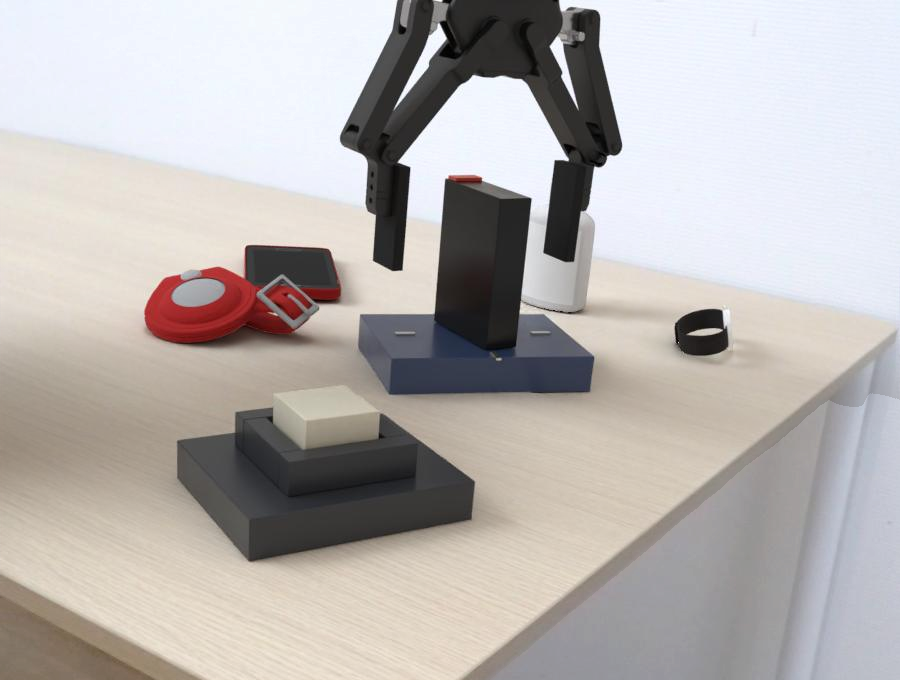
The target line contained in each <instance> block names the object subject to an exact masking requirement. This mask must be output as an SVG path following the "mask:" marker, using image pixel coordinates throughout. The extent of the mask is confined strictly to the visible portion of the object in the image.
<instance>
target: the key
mask: <svg viewBox="0 0 900 680" xmlns="http://www.w3.org/2000/svg"><path fill="white" fill-rule="evenodd" d="M272 404H273V405H272V407H273V424H274V425H275V426H276V427H277V428H278V429H279V430H280V431H281V432H283V433H284V434H285V435H286V436H287V437H288V438H289V439H290V440H292V441H293V442H294V443H295V444H296V445H297V446H298V447H299V448H301V449H302V450H304V449H311V448H318V447H325V446H332V445H339V444H346V443H353V442H360V441H367V440H374V439H378V436H379V420H380V414H381V411H380V409H378V408H377V407H375V405H373V404H372V403H370V402H368V401H367V400H366V399H364V398H363V397H362V396H361V395H359V394H358V393H356V392H355V391H354V390H353V389H351V388H350V387H348V386H347V385H345V384H342V385H334V386H326V387H317V388H316V387H315V388H308V389H307V388H306V389H298V390H290V391H289V390H288V391H281V392H273V401H272Z"/></svg>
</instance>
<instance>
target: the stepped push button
mask: <svg viewBox="0 0 900 680" xmlns="http://www.w3.org/2000/svg"><path fill="white" fill-rule="evenodd" d="M176 473H177V474H176V479H177V480H178V481H179V482H180V483H181V484H182V485H183V486H184V488H185V489H186V490H187V492H189V494H190V495H191V496H192V497H193V498H194V499H195V500H196V502H197V503H198V504H199V505H200V506H201V508H202V509H203V510H204V511H205V512H206V513H207V515H208V516H209V517H210V518H211V519H212V521H213V522H214V523H215V524H216V525H217V526H218V527H219V529H220V530H221V531H222V532H223V533H224V535H225V536H226V537H227V538H228V539H229V540H230V541H231V542H232V543H233V545H234V546H235V547H236V548H237V550H238V551H239V552H240V553H241V554H242V556H243V557H244V558H245V559H246V560H247V561H248V562H249V563H250V562H256V561H260V560H267V559H271V558H272V559H273V558H276V557H281V556H287V555H291V554H297V553H303V552H308V551H313V550H318V549H323V548H329V547H333V546H335V547H336V546H339V545H340V546H341V545H344V544H345V545H346V544H350V543H356V542H361V541H366V540H370V539H377V538H382V537H387V536H393V535H397V534H403V533H408V532H413V531H419V530H425V529H429V528H434V527H439V526H444V525H449V524H456V523H461V522H467V521H471V520H472V519H473V508H474V499H475V498H474V496H475V487H476V481H475V480H474V479H473V478H472V477H470V476H469V475H467V474H466V473H464V471H462V470H460V469H459V468H457V466H455V465H454V464H452V463H451V462H449V460H447V459H446V458H444V457H443V456H442V455H440V454H439V453H438V452H436V451H434V450H433V449H432V448H430V446H428V445H426V444H425V443H424V442H422V441H421V440H420V439H418V438H417V437H415V436H414V435H413V434H411V433H410V432H409V431H407V430H406V429H404V428H403V427H402V426H401V425H399V424H398V423H396V422H395V421H394V420H392V419H391V418H390V417H388V416H387V415H385V413H383V412H382V413H381V412H380V420H379V436H378V439H374V440H367V441H360V442H353V443H346V444H339V445H332V446H325V447H318V448H311V449H304V450H302V449H301V448H299V447H298V446H297V445H296V444H295V443H294V442H293V441H292V440H290V439H289V438H288V437H287V436H286V435H285V434H284V433H283V432H281V431H280V430H279V429H278V428H277V427H276V426H275V425H274V424H273V406H272V407H263V408H257V409H256V408H255V409H247V410H240V411H235V412H234V432H230V433H229V432H228V433H221V434H214V435H205V436H197V437H191V438H183V439H178V440H176Z"/></svg>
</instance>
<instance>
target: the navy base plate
mask: <svg viewBox="0 0 900 680" xmlns="http://www.w3.org/2000/svg"><path fill="white" fill-rule="evenodd" d="M434 314H435V313H360V314H359V320H358V321H359V323H358V342H357V348H358V349H359V351H360V352H361V354H362V355H363V357H364V358H365V360H366V361H367V363H368V364H369V366H370V367H371V369H372V370H373V372H374V374H375V376H376V377H377V378H378V381H380V383H381V384H382V386H383V387H384V390H385V391H386V392H387V394H388V395H390V396H391V395H392V396H393V395H394V396H396V395H441V394H444V395H446V394H494V393H502V394H503V393H570V392H571V393H572V392H590V391H591V387H592V381H593V380H592V379H593V372H594V366H595V365H594V364H595V355H594V354H592V353H591V352H590V351H589V350H587V349H586V348H585V347H584V346H583V345H581V344H580V343H579V342H578V341H576V340H575V339H574V338H573V337H572V336H570V335H569V334H568V333H567V332H566V330H564V329H562V328H561V327H560V326H559V325H557V323H555V322H554V321H552V320H551V318H550V317H548V316H547V315H545V314H544V313H520V314H519V324H518V333H517V342H516V347H512V348H503V349H493V350H485V349H483V348H482V347H480V346H478V345H476V344H475V343H473V342H471V341H469V340H467V339H466V338H464V337H462V336H460V335H459V334H457V333H455V332H453V331H451V330H450V329H448V328H446V327H444V326H443V325H441V324H439V323H437V322H435V321H434Z"/></svg>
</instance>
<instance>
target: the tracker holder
mask: <svg viewBox="0 0 900 680" xmlns="http://www.w3.org/2000/svg"><path fill="white" fill-rule="evenodd" d="M280 282H283V283H284V284H285V285H286V286H287V287H286V286H283V285H277V284H278V283H280ZM318 311H320V305H319V304H317V303H316V301H314V299H310V298H309V297H308V296H307V295H306V294H305V293H304V292H302V291H301V290H300V289H299V288H298V287H297V286H296V285H295V284H293V283H292V282H291V281H290V280H289V279H288V278H287V277H285V276H284V275H280V276H279V277H277V278H276V279H275V280H273V281H272V282H271V283H269V284H268V285H267V286H265V287H264V288H263V289H260V288H258V287H255V286H253V285H252V284H251V283H250V282H249V281H247V280H246V279H245V277H242V276H240V275H239V274H237V273H235V272H234V271H231V270H230V269H227V268H225V267H221V266H214V267H208V268H203V269H189V270H186V271H184V272H182V273H180V274H176V275H171V276H166V277H165V278H163V279H162V280H161V281H160V282H159V283H158V285H157V286H156V288H155V289H154V290H153V291H152V293H151V295H150V297H149V299H148V300H147V301H146V304H145V308H144V312H143V315H144V322H145V325H146V328H147V329H148V331H149V332H150V333H151V334H153V335H154V336H155V337H158V338H159V339H163V340H166V341H169V342H173V343H183V344H192V343H202V342H208V341H212V340H216V339H219V338H222V337H225V336H228V335H229V334H231V333H234V332H236V331H237V330H239V329H241V327H243V326H247V327H249V328H253V329H254V330H258V331H259V332H263V333H267V334H274V335H290V334H293V333H294V332H295V331H298V330H299V329H300V328H301V327H302V326H303V325H305V324H306V323H307V322H308V321H309V320H310V319H311V317H313V316H314V315H315V314H316V313H317V312H318Z"/></svg>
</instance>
